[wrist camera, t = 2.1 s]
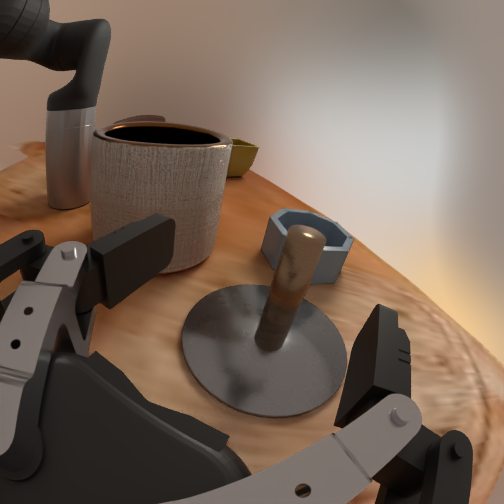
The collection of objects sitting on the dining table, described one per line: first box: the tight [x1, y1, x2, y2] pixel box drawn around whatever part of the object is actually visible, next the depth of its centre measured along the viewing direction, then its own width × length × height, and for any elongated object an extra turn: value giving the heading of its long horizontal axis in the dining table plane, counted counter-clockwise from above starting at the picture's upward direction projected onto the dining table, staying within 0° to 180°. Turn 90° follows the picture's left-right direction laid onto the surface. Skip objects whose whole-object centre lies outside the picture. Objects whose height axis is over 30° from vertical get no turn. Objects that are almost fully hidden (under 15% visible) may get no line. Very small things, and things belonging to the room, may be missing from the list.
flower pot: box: [227, 138, 259, 177], centre depth 70 cm, size 9×9×9 cm
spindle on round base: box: [182, 225, 347, 418], centre depth 24 cm, size 17×17×13 cm
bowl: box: [261, 208, 354, 284], centre depth 42 cm, size 12×12×6 cm
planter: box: [91, 121, 233, 274], centre depth 35 cm, size 18×18×16 cm
